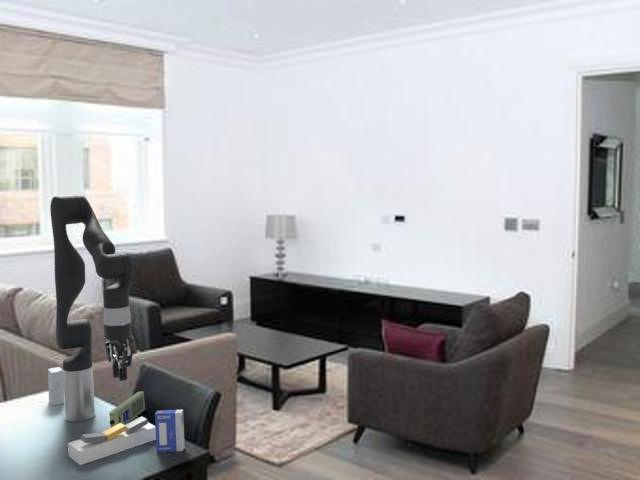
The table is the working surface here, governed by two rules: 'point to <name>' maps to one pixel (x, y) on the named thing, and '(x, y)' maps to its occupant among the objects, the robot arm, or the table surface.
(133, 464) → the table surface
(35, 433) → the table surface
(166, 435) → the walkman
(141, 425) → the block
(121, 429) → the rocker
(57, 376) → the skincare box
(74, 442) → the power strip
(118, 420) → the handheld radio
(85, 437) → the grey flat block
